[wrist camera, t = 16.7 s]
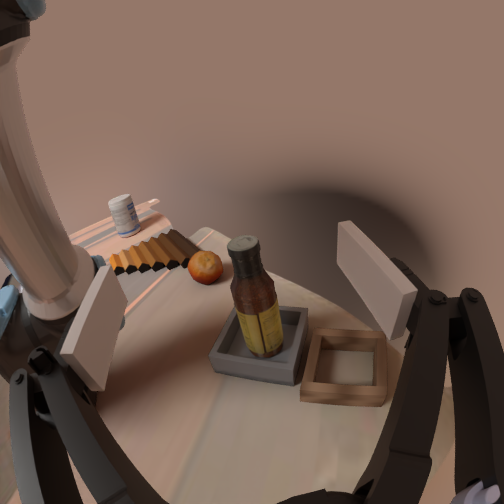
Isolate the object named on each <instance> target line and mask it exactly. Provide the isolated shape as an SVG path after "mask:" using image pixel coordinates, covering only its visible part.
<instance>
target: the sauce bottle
mask: <svg viewBox="0 0 504 504" xmlns="http://www.w3.org/2000/svg"><path fill="white" fill-rule="evenodd" d="M227 249H228V254H229V256H230V257H231V259H232V263H233V267H234V273H235V274H234V277H233V280H232V283H231V287H230V289H231V292H232V296H233V300H234V305H235V309H236V312H237V315H238V319H239V322H240V325H241V329H242V332H243V336H244V339H245V342H246V345H247V347H248V348H249V350H250V352H251V353H252V354H253V355H254V356H257V357H263V358H268V357H272V356H274V355H276V354H277V353H279V351H280V350H281V349H282V346H283V330H282V324H281V318H280V312H279V306H278V300H277V294H276V292H275V287H274V281H273V280H272V279H271V278H270V276H269V275H268V274H267V272H266V271H265V270H264V268H263V265H262V263H261V258H260V245H259V240H258V239H257V238H256V237H255V236H249V235H243V236H238V237H236V238H234V239H232V240H231V241H230V242H229V243H228V244H227Z"/></svg>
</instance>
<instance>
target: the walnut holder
mask: <svg viewBox="0 0 504 504" xmlns="http://www.w3.org/2000/svg"><path fill="white" fill-rule="evenodd" d="M321 349H331V350H345V351H365V352H374V355H373V386H358V385H341V384H328V383H317V382H315V378H316V373H317V368H318V363H319V357H320V352H321ZM386 396H387V346H386V335H385V333H384V332H383V331H359V330H340V329H325V328H314V329H313V334H312V339H311V344H310V349H309V353H308V358H307V362H306V367H305V371H304V375H303V379H302V384H301V388H300V401H302V402H311V403H320V404H331V405H345V406H366V407H381V406H382V404H383V402H384V400H385V398H386Z"/></svg>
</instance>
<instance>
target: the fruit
mask: <svg viewBox="0 0 504 504" xmlns="http://www.w3.org/2000/svg"><path fill="white" fill-rule="evenodd" d="M188 270H189V273H190V274H191V276H192V278H193V280H195V281H197V282H199V283H202V284H204V285H208V284H211V283H212V282H214V281H215V280H216V279H218V278H219V277H220V275H221V274H222V273H223V267H222V262H221V259H220V257H219V256H218V255H216V254H214V253H213V252H211V251H199V252H197V253H195V254H194V255H193V256H192V258H191V259H190V261H189V263H188Z"/></svg>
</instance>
